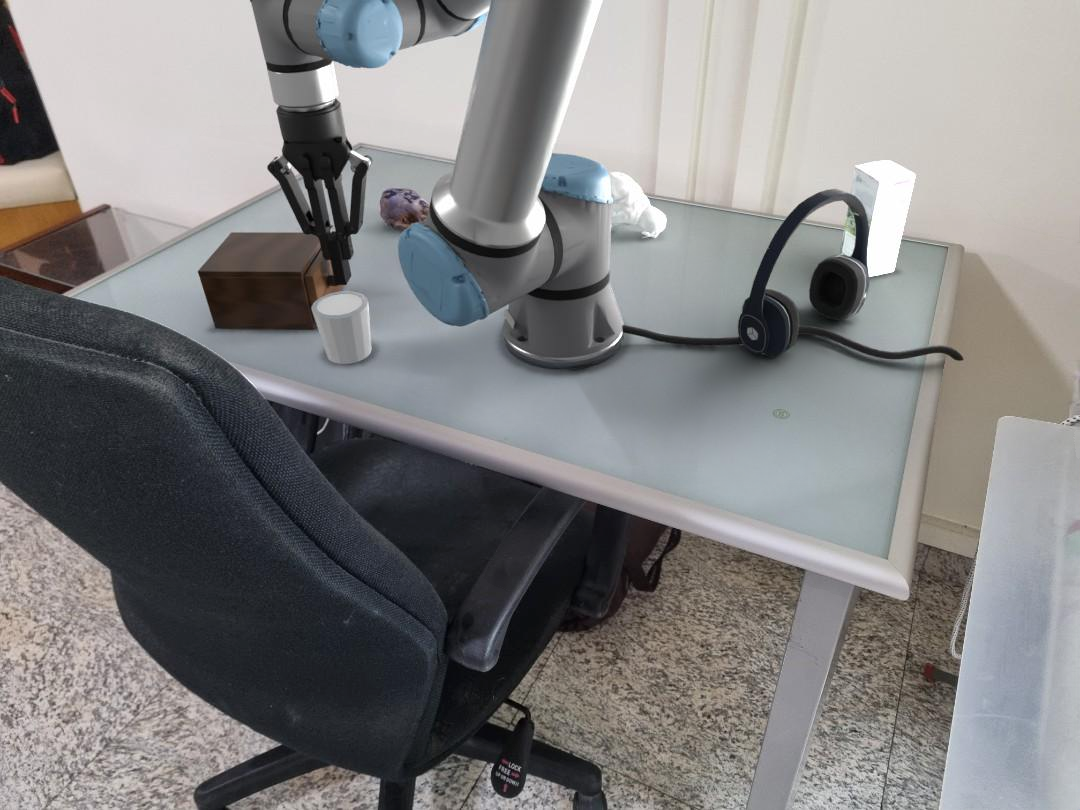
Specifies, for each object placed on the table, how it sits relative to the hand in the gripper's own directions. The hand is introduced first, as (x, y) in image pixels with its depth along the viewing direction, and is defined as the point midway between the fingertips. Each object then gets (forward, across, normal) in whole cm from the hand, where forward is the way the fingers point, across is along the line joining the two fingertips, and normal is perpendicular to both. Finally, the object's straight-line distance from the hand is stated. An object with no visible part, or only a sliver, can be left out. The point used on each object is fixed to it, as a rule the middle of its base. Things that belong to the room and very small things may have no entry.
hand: (343, 280), depth 113 cm
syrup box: (+5, -72, -13) cm, 73 cm away
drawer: (+3, +8, 0) cm, 8 cm away
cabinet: (+4, +10, 0) cm, 11 cm away
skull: (+5, -4, -27) cm, 28 cm away
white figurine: (+5, -39, -25) cm, 47 cm away
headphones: (+5, -60, +5) cm, 60 cm away
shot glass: (+5, -3, +11) cm, 12 cm away
